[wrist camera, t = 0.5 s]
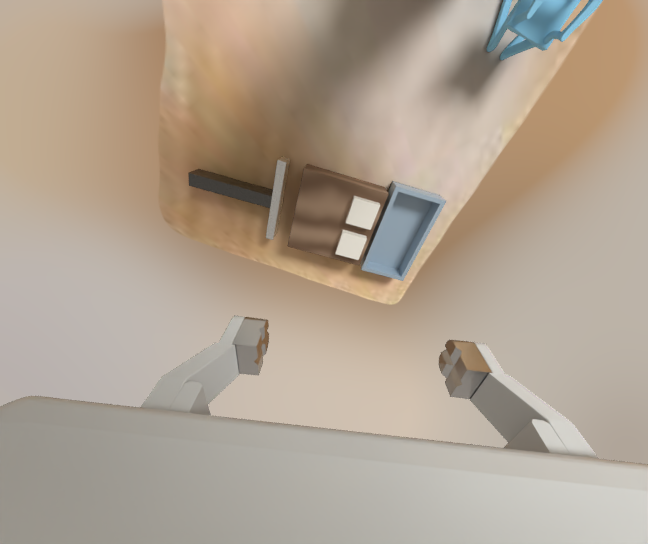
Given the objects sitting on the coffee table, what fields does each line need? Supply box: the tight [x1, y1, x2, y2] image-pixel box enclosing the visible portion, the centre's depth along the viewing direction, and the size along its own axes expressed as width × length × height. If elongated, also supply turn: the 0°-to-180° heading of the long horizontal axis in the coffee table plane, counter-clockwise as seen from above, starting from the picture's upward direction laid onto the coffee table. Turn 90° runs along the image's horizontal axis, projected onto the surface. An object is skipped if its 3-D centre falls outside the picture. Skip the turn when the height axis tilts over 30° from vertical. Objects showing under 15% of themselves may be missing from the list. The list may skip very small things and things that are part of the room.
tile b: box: [335, 230, 367, 260], centre depth 51 cm, size 5×5×2 cm
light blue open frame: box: [487, 0, 603, 60], centre depth 31 cm, size 8×8×12 cm
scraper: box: [189, 157, 290, 240], centre depth 50 cm, size 18×16×4 cm
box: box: [360, 181, 446, 281], centre depth 53 cm, size 19×10×4 cm, turn 165°
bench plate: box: [288, 164, 388, 265], centre depth 51 cm, size 16×16×5 cm
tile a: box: [346, 196, 380, 230], centre depth 47 cm, size 5×5×2 cm
